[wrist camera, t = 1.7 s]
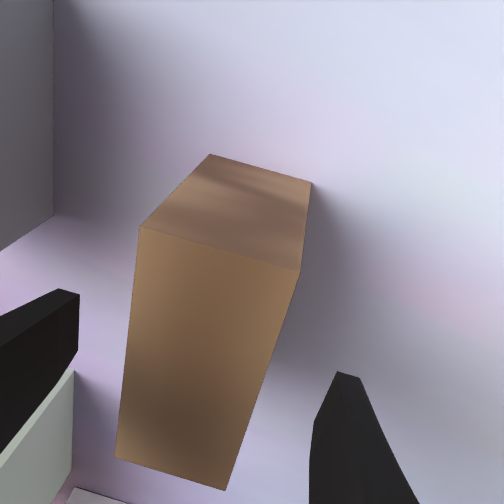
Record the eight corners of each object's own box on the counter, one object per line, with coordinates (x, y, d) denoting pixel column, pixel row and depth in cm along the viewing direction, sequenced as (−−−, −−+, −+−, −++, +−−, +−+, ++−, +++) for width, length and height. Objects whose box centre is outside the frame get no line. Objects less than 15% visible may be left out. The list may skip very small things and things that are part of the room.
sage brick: (14, 450, 24) (-74, 567, 19) (5, 348, 20) (-108, 459, 15) (72, 468, 24) (0, 591, 19) (75, 369, 20) (-15, 489, 15)
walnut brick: (176, 332, 18) (114, 457, 13) (210, 153, 14) (139, 226, 9) (256, 356, 18) (225, 491, 13) (311, 181, 14) (300, 272, 9)
